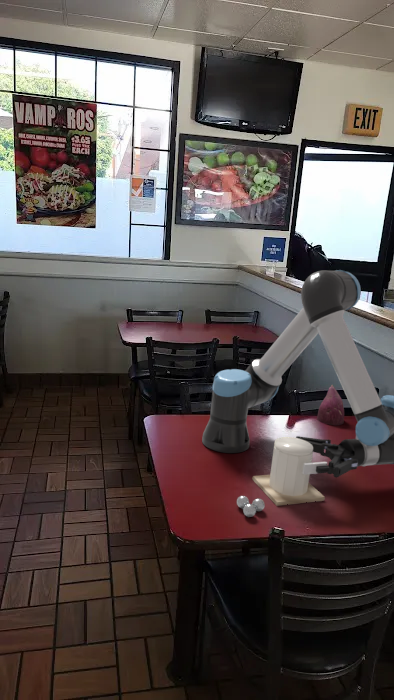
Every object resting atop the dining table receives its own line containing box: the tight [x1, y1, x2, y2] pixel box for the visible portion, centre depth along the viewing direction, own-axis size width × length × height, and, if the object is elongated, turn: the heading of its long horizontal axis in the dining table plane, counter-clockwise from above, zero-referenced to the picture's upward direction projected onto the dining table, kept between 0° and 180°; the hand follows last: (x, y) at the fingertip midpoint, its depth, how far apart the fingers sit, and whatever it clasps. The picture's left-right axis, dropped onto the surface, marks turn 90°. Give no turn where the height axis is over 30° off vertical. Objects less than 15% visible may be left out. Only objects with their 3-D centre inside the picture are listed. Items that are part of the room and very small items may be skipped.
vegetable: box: [316, 384, 345, 426], centre depth 191 cm, size 10×10×15 cm
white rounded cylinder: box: [269, 436, 314, 496], centre depth 133 cm, size 10×10×12 cm
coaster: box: [251, 474, 326, 507], centre depth 134 cm, size 14×14×1 cm
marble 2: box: [242, 503, 257, 518], centre depth 119 cm, size 3×3×3 cm
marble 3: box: [251, 497, 265, 512], centre depth 122 cm, size 3×3×3 cm
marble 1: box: [236, 495, 250, 510], centre depth 123 cm, size 3×3×3 cm
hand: (290, 457), depth 131 cm, fingers open, 13 cm apart
